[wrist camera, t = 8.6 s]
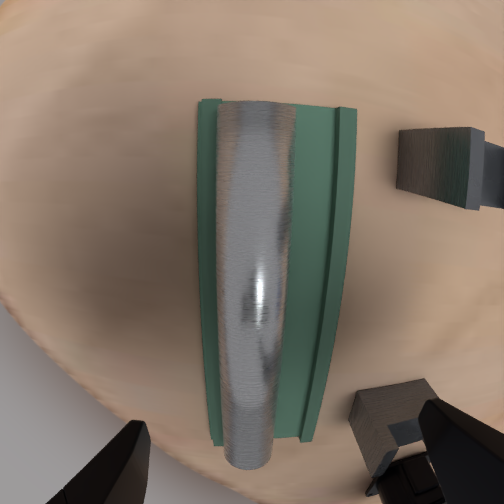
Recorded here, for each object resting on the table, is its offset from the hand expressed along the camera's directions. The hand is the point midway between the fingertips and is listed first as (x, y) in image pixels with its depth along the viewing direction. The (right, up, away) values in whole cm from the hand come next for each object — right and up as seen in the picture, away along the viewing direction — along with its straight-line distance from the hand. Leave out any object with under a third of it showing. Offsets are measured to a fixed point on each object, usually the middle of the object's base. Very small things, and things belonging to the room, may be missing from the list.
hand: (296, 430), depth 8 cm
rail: (0, +2, +7) cm, 7 cm away
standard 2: (+8, -5, +11) cm, 15 cm away
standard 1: (+9, +10, +6) cm, 15 cm away
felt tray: (0, +2, +8) cm, 8 cm away
